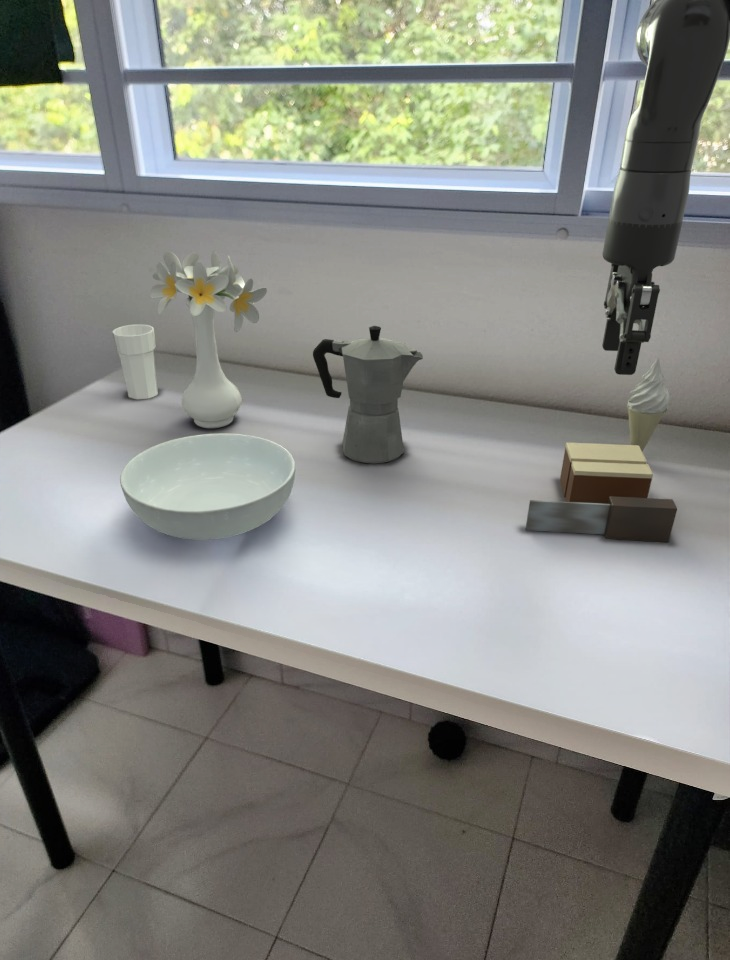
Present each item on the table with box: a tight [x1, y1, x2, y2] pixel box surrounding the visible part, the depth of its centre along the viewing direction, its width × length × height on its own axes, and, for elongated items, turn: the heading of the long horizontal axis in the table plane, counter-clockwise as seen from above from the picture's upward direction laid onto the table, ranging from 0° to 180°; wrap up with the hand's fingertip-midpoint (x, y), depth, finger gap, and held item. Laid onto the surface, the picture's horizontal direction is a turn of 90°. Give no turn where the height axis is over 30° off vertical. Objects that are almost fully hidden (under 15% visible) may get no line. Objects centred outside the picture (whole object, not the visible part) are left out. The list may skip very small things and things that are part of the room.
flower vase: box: [148, 250, 268, 429], centre depth 111 cm, size 13×18×25 cm
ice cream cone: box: [626, 356, 670, 452], centre depth 100 cm, size 5×5×15 cm
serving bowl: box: [119, 432, 297, 541], centre depth 91 cm, size 21×21×7 cm
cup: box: [111, 323, 159, 400], centre depth 126 cm, size 7×7×11 cm
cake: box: [559, 442, 648, 499], centre depth 95 cm, size 9×5×6 cm, turn 82°
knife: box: [525, 496, 678, 543], centre depth 87 cm, size 16×2×4 cm, turn 82°
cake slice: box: [564, 461, 654, 504], centre depth 92 cm, size 9×3×6 cm, turn 82°
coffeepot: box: [312, 325, 424, 464], centre depth 104 cm, size 15×9×18 cm, turn 70°
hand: (617, 361), depth 89 cm, fingers open, 8 cm apart
